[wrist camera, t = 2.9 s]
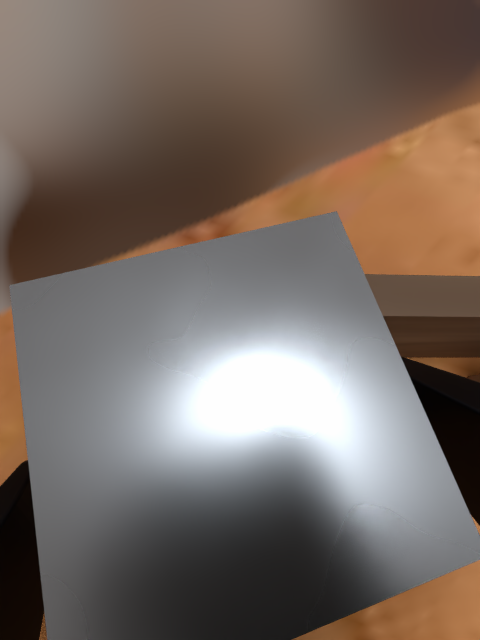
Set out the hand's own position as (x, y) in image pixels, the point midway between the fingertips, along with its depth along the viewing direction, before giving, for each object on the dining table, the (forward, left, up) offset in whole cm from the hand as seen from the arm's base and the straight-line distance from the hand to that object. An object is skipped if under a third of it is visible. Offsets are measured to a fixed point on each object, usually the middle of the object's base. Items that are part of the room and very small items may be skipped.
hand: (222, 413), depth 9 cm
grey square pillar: (0, 0, -8) cm, 8 cm away
